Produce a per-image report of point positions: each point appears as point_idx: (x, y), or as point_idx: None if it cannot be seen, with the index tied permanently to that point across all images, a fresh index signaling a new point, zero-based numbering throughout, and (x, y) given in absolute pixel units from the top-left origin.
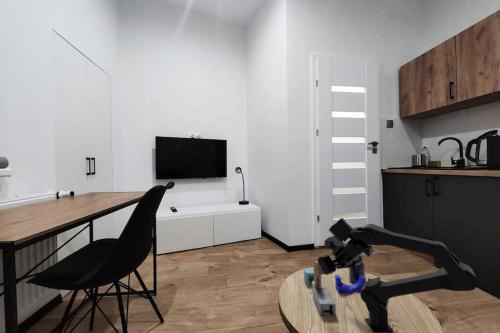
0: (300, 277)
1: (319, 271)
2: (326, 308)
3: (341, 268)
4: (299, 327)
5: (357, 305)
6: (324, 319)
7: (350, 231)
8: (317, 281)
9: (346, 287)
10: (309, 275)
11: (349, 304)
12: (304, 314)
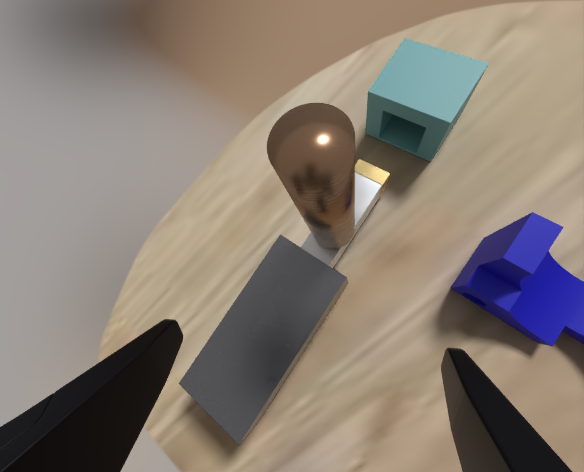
0: None
1: (156, 325)
2: None
3: (461, 464)
4: None
5: (440, 446)
6: None
7: None
8: (310, 230)
9: (527, 309)
10: (386, 109)
11: (405, 406)
12: (171, 317)
